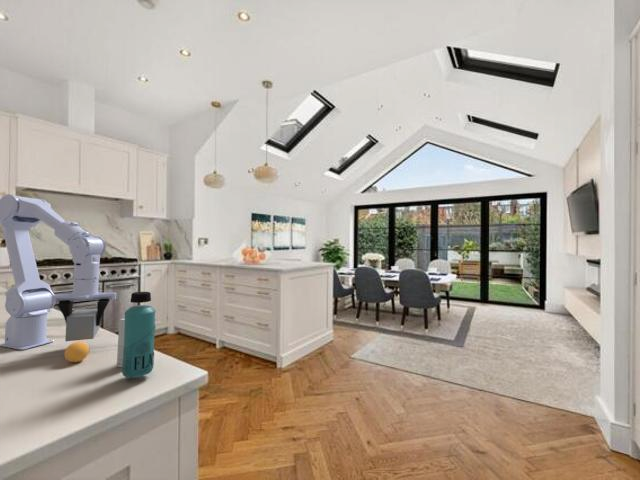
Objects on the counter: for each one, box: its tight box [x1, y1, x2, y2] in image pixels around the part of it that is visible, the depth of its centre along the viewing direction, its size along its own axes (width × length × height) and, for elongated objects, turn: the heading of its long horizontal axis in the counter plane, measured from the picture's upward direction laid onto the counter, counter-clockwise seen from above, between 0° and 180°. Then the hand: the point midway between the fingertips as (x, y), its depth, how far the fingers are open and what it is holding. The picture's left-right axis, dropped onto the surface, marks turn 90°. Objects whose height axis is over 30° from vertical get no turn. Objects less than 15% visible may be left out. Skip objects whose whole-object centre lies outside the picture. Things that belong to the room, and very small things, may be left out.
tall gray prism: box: [64, 307, 101, 342], centre depth 86 cm, size 10×6×6 cm, turn 29°
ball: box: [64, 341, 90, 363], centre depth 78 cm, size 5×5×5 cm
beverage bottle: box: [121, 291, 157, 378], centre depth 70 cm, size 6×7×20 cm
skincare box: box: [116, 317, 125, 368], centre depth 78 cm, size 6×4×12 cm
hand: (83, 326), depth 86 cm, fingers closed on tall gray prism, 6 cm apart
